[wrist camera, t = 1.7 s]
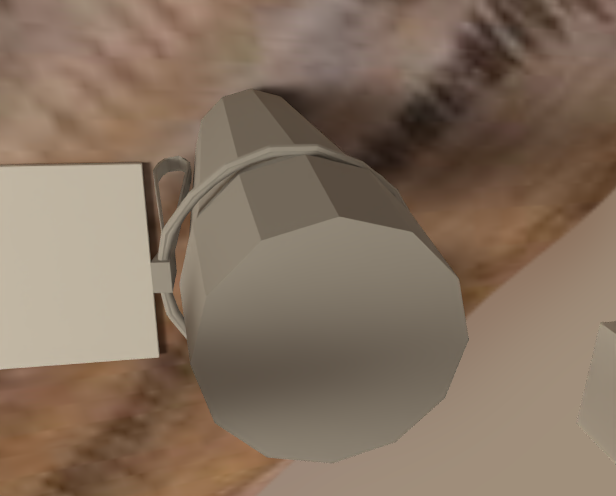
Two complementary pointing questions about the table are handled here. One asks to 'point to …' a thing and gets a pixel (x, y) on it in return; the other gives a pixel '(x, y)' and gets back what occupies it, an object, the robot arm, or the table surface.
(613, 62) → the table surface
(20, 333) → the felt mat
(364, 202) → the water bottle
